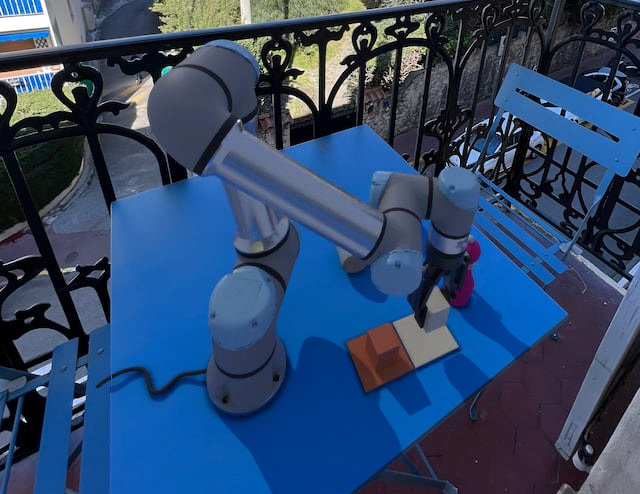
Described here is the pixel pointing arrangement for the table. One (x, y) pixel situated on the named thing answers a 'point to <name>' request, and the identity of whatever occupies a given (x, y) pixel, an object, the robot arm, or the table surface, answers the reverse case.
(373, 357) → the terracotta block
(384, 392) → the table surface
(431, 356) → the cream mat
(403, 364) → the terracotta mat
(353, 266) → the ceramic mug
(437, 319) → the cream block
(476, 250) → the pepper mill
